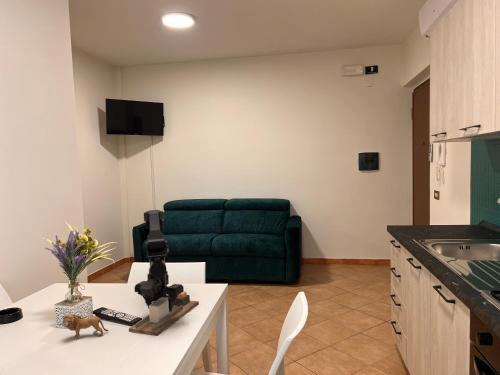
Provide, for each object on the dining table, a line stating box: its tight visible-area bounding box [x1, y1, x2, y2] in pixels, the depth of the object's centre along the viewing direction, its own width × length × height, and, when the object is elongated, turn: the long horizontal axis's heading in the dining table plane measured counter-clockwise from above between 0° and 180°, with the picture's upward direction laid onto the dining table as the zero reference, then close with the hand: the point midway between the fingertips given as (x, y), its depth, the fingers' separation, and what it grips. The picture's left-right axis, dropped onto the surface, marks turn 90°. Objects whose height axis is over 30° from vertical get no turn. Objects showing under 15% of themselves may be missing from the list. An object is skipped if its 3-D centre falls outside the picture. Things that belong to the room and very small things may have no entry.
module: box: [148, 297, 171, 323], centre depth 141 cm, size 4×8×7 cm, turn 159°
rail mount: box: [128, 294, 199, 337], centre depth 145 cm, size 12×30×4 cm, turn 159°
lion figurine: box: [62, 313, 109, 341], centre depth 131 cm, size 15×5×9 cm, turn 110°
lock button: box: [177, 291, 188, 299], centre depth 155 cm, size 3×3×3 cm
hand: (160, 310), depth 141 cm, fingers open, 9 cm apart
